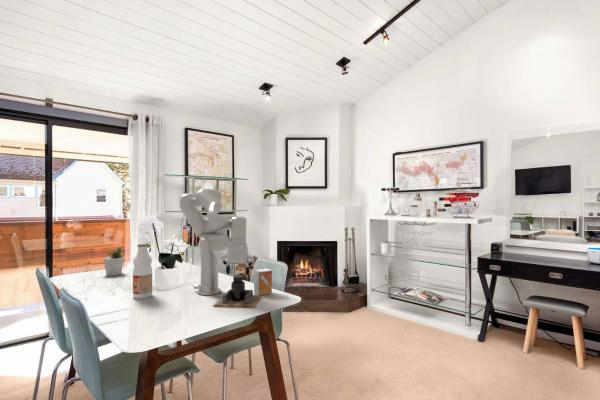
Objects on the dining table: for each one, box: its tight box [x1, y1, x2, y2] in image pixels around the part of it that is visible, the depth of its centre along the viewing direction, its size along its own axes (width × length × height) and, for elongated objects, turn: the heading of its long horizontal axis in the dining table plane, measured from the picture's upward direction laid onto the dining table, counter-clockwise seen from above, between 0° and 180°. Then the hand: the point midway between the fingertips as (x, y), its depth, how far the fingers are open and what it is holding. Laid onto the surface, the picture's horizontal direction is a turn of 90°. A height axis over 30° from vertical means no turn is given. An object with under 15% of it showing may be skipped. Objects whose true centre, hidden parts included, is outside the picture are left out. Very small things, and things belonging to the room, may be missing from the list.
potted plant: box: [102, 244, 126, 277], centre depth 233 cm, size 13×14×20 cm
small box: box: [253, 268, 273, 296], centre depth 189 cm, size 8×6×13 cm
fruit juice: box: [132, 243, 153, 299], centre depth 183 cm, size 9×9×28 cm
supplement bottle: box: [230, 274, 246, 301], centre depth 175 cm, size 7×7×12 cm
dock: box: [212, 289, 262, 309], centre depth 175 cm, size 20×18×4 cm
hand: (237, 274), depth 175 cm, fingers open, 9 cm apart
